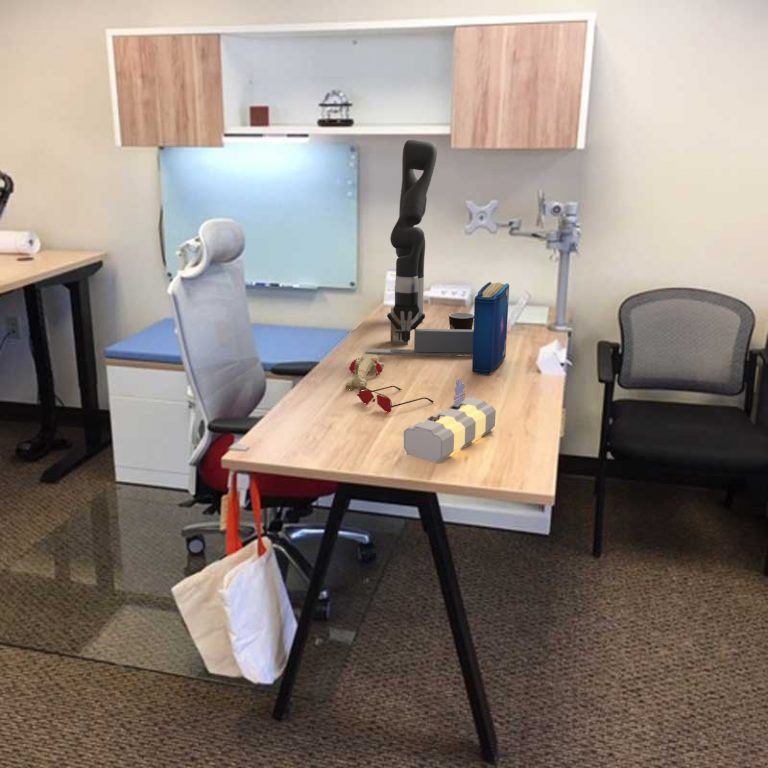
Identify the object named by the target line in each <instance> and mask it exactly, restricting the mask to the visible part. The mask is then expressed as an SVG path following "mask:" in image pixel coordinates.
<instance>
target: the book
mask: <svg viewBox="0 0 768 768" xmlns="http://www.w3.org/2000/svg"><path fill="white" fill-rule="evenodd" d="M509 295H510V284H509V283H505V284H504V283H502V282H494V283H492V282H491V281H489V282H487V283H486V284H484V285H483V286H482V287H481V288H480V289H479V290H478V291H477V295H476V296H475V297H474V306H473V307H474V308H473V311H474V312H473V315H474V320H473V330H474V332H473V356H472V364H471V365H472V367H471V372H472V373H475V374H478V375H479V374H480V375H491V374H492V373H493V372H494V371H496V370H497V369H498V368H499V367H500V365H501V364H502V363H503V361H504V360H505V358H506V355H507V354H506V352H507V336H508V335H507V333H508V317H509V297H510V296H509Z"/></svg>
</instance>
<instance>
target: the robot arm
mask: <svg viewBox="0 0 768 768" xmlns="http://www.w3.org/2000/svg"><path fill="white" fill-rule="evenodd" d="M402 149H403V150H402V160H401V161H402V163H401V164H402V165H401V166H402V169H401V170H402V172H401V173H402V174H401V175H402V179H401V189H400V196H399V197H400V198H399V210H398V211H399V212H398V213H399V214H398V215H399V216H398V219H397V221H396V223H395V224H394V227H393V229H392V231H391V233H390V239H389V240H390V244H391V246H392V247H393V248H394V249H395V254H396V257H397V258H396V261H395V281H394V306H393V307H394V308H393V311H391V310H390V312H388V313H387V315H386V316H387V318H388V320H389V321H390V323H391V322H392V324H393V325H394V326H395V327H396V329H399V330H401V331H402V340H404V342H408V343H409V341H410V340H411V332H412V331H413V330H414V331H415V329H418V328H417V327H419V325H421V324H422V323H423V321H424V320H425V318H426V314H425V313H424V289H425V286H424V283H425V282H424V281H425V278H424V277H425V271H424V270H425V254H426V237H425V233H424V231H423V229H422V228H421V227H418V226H417V225H419V224H420V223H422V219H423V217H424V215H425V212H426V207H427V200H428V199H427V198H428V197H427V194H428V190H429V188H430V185H431V182H432V177H433V174H434V169H435V166H436V163H437V154H438V153H437V152H438V148H437V145H436V143H434V142H431V141H423V140H417V139H416V140H415V139H408V140H406V141H405V143H404V145H403V148H402ZM414 170H415V171H422V174H421V176H420V177H419V178H418V179H417V177H416V174H415V172H414ZM394 313H395V314H396V316H397V317H398V319H399V320H401V325H399V324H398V322H397V321H396V320H395V318H394V317H395V315H394ZM405 320H407V330H405Z"/></svg>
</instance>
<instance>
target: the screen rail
mask: <svg viewBox="0 0 768 768" xmlns="http://www.w3.org/2000/svg"><path fill="white" fill-rule="evenodd" d="M364 354H375V355H377V356H380V355H384V356H385V355H386V356H387V355H388V356H390V355H391V356H436V355H471V356H470V357H473V353H460V352H414V349H406V348H404V349H399V348H396V349H395V348H392V349H390V348H366V349H365V353H364Z"/></svg>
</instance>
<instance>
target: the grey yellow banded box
mask: <svg viewBox="0 0 768 768" xmlns="http://www.w3.org/2000/svg"><path fill="white" fill-rule="evenodd" d="M455 385H456V386H454V393H455V395H454V396H453V404H452V405H450V406H449V407H448V409H446V410H440V411H438V412H436V413H434V414H432V415H430V416H429V417H428V418H427V419H426V420H424V421H419V422H417V423H415V424H413V425H411V426H409V427H407V428H406V429H405V430H403V449H404V450H405V452H406V454H407V456H410V457H413V458H418V459H421V460H425V461H429V462H432V463H435V464H439V463H441V462H443V461H445V460H446V459H448V458H450V457H451V456H452V455H454V454H456V453H458V452H459V451H461V450H463V449H464V448H466V447H468V446H469V445H470V443H471V442H472V443H474V442H475V440H476V441H477V440H479V439H481V438H482V437H484V436H485V435H487V434H489V433H490V432H492V430H493V429H494V427H496V415H497V414H496V411H497V410H496V409H495V407H493V405H489V404H487V401H486V400H483V399H479V398H473V397H468V398H465V395H466V393H465V392H466V391H465V390H464V389H465V383H464V382H463V381H461V379H456V381H455ZM461 406H462V407H461ZM488 432H489V433H488ZM486 433H487V434H486ZM483 435H484V436H483ZM481 436H482V437H481ZM478 438H479V439H478ZM473 441H474V442H473ZM472 443H471V444H472ZM468 444H469V445H468ZM465 446H466V447H465Z"/></svg>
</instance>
